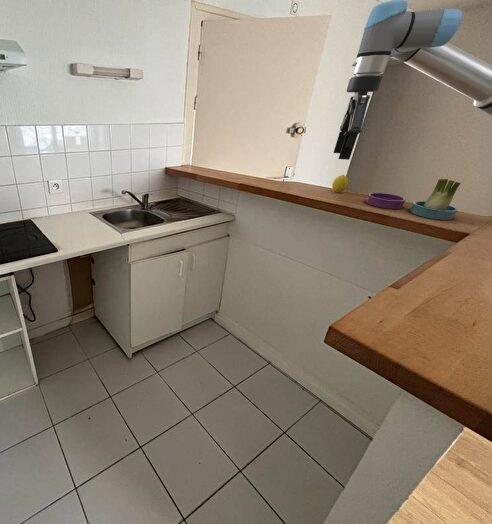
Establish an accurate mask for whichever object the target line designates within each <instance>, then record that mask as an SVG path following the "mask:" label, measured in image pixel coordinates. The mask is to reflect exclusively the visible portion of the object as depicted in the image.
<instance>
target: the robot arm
mask: <svg viewBox="0 0 492 524" xmlns="http://www.w3.org/2000/svg"><path fill="white" fill-rule="evenodd" d="M408 5H409V4H408V1H407V0H389V1H384V2H381V3H378V4H376V5H375V6H374V7H373V8H372V9H371V10H370V13H369V15H368V18H367V21H366V24H365V27H364V29H363V33H362V37H361V40H360V44H359V48H358V52H357V54H356V58H355V61H354V62H352V63H351V67H353V68H352V72H351V75H352V76H353V77H351V78H349V81H348V84H347V87H346V93H348V94H353V96H351V97H349V102H348V105H347V108H346V110H345V113H344V116H343V119H342V122H341V124H340V126H339V130H340V131H339V133H338V136H337V139H336V143H335V146H334V149H333V152H332V153H333V154H339V155H338V160H348V161H349V160H350V159H351V156H352V154H353V150H354V147H355V144H356V142H357V138H358V136H359V134H360V133H362V128H363V123H364V121H365V116H366V111H367V107H368V104H369V101H370V98H371V95H370V94H368V93H376V92H378V91H379V89H380V86H381V83H382V81H383V76H382V75H383V74H384V73H385V72H386V69H387V66H388V63H389V60H390V59H391V58H394V59H396V60H397V61H400V62H402V63H404V64H406V65H408V66H410V67H411V68H413V69H415V70H417V71H419V72H421V73H423V74H425V75H426V76H428V77H430V78H432V79H434V80H436V81H438V82H440V83H441V84H443V85H445V86H447V87H449V88H450V89H453V90H454V91H457V92H458V93H460V94H462V95H463V96H466V97H467V98H469V99H471V100H473V106H474V107H476V108H477V109H479V110H481V111H483V112H485V113H486V114H488V115H490V116H492V64H490V63H489V62H486V61H484V60H482V59H481V58H479V57H476V56H475V55H473V54H471V53H469V52H467V51H465V50H463V49H461V48H460V47H458V46H456V45H454V44H452V43H450V41H451V40H452V39H453V38H454V36H455V35H456V33H457V31H458V30H459V27H460V26H461V22H462V20H463V12H462V10H461V9H460V8H446V7H445V8H444V9H443V8H442V9H429V10H418V11H409V10H408Z"/></svg>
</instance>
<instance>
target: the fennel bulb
mask: <svg viewBox="0 0 492 524" xmlns="http://www.w3.org/2000/svg"><path fill="white" fill-rule="evenodd" d="M460 185H461V182H459V181H455V180H451V179H448V178H439V179H438V180H437V182H436V185H435V187H434V189H433V191H432V192H431V194H430V195H429V196H428V198H427V199H426V200H425V201H426V203H425V204H424V207H426V208H430V209H436V210H444V211H445V210H446V209H447V207H448V206H449V205H450V204H451V203H452V200H453V198H454V196H455V194H456V192H457V190H458V188H459V187H460Z"/></svg>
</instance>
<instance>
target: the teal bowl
mask: <svg viewBox="0 0 492 524" xmlns="http://www.w3.org/2000/svg"><path fill="white" fill-rule="evenodd" d="M426 201H427V200H417V201H414V202H413V203H412V206H411V208H410V209H409V212H410V213H411V214H414V215H416V216H419V217H422V218H427V219H431V220H441V221H448V220H449V221H450V220H453V219H454V218H455V216H456V214H457V212H458V210H459V208H457V207H456V206H453V205H450V204H449V206H448V207H447V209H446V210H445V211H444V210H436V209H430V208H426V207H424V204H425V203H426Z"/></svg>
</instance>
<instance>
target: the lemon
mask: <svg viewBox="0 0 492 524" xmlns="http://www.w3.org/2000/svg"><path fill="white" fill-rule="evenodd" d="M348 185H349V178H348V177H347V176H346V175H345V174H341V175H338V176H337V177H335V178H334V180H333V182H332V186H331V187H332V188H331V189H332V191H334V192H335V193H337V194H339V193H342V192H344V191H346V189H347V188H348Z"/></svg>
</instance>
